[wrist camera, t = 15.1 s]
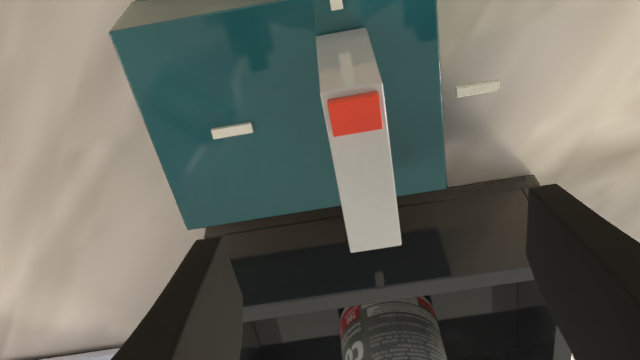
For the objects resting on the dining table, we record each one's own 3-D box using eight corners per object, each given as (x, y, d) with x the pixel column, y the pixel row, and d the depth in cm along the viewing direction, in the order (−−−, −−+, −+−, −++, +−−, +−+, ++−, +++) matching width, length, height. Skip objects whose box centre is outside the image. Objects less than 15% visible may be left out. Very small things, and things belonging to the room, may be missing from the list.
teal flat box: (203, 201, 25) (192, 249, 22) (121, -24, 19) (94, 6, 17) (476, 157, 24) (498, 202, 21) (472, -91, 18) (501, -71, 16)
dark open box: (271, 403, 33) (268, 496, 29) (205, 226, 26) (187, 316, 21) (524, 369, 32) (559, 459, 28) (534, 173, 25) (585, 257, 20)
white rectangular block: (385, 172, 21) (403, 251, 17) (341, 179, 21) (351, 259, 17) (366, 26, 17) (383, 86, 14) (315, 35, 18) (320, 97, 14)
